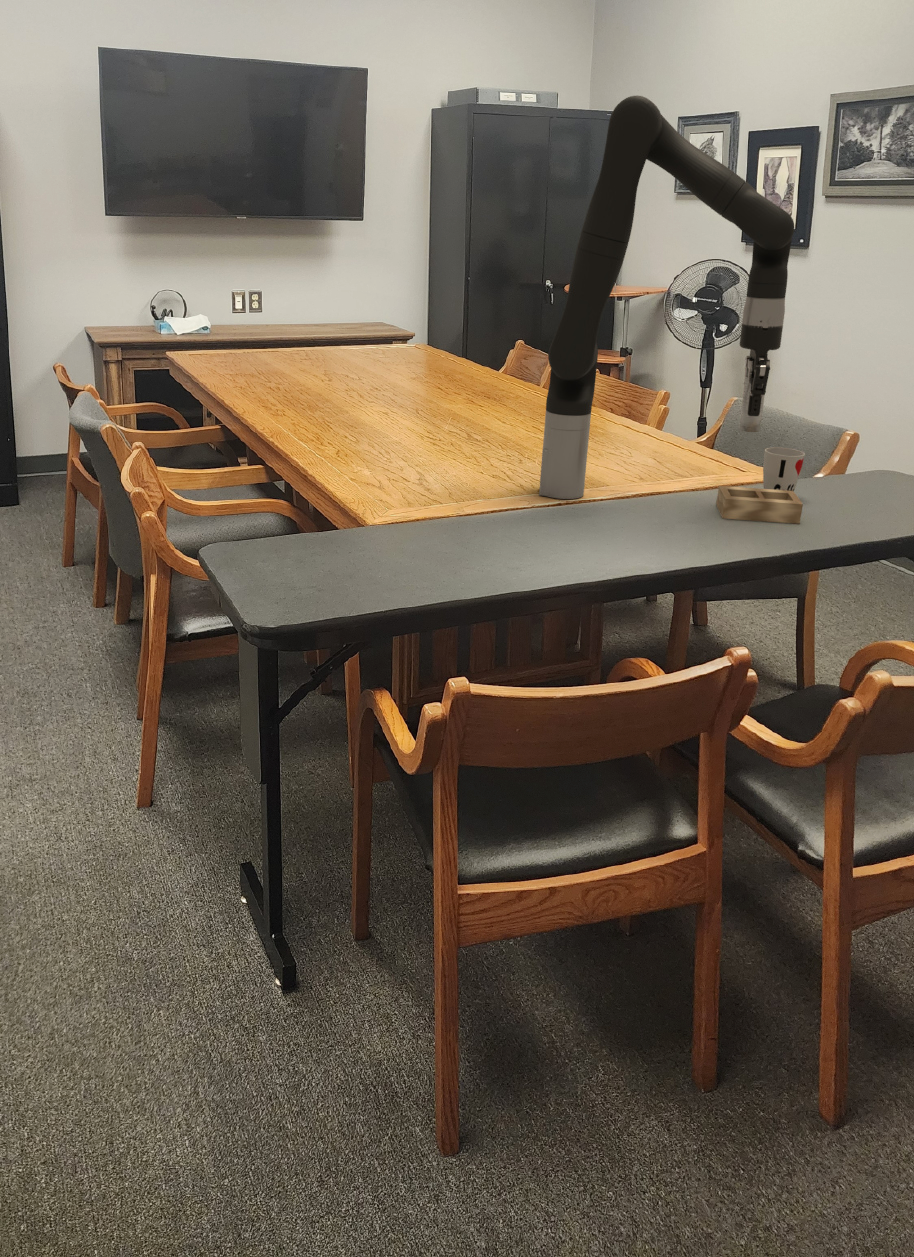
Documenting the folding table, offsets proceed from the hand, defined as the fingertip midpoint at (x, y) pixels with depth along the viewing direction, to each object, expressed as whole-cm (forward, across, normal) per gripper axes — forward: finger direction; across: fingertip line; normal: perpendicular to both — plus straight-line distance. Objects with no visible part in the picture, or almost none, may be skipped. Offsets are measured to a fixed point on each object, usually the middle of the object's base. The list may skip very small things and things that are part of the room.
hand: (751, 413), depth 206 cm
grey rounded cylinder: (+3, 0, 0) cm, 3 cm away
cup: (+21, -14, +10) cm, 27 cm away
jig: (+20, 0, +4) cm, 21 cm away
